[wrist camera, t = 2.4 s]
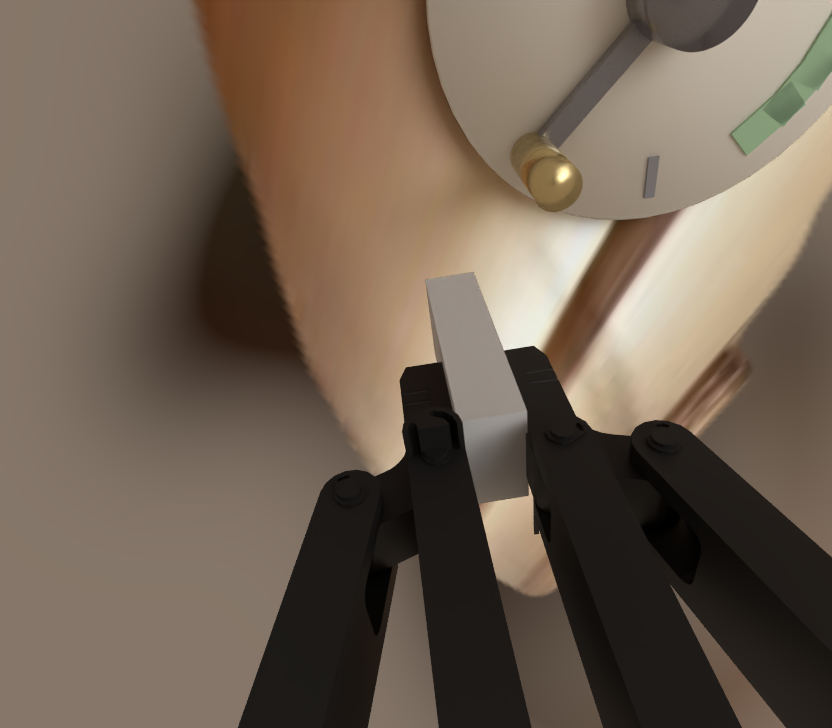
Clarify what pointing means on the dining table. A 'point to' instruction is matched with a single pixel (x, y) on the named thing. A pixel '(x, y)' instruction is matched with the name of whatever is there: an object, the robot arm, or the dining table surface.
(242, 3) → the dining table surface
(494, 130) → the dial board
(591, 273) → the dining table surface
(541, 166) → the crank handle
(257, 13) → the dining table surface
